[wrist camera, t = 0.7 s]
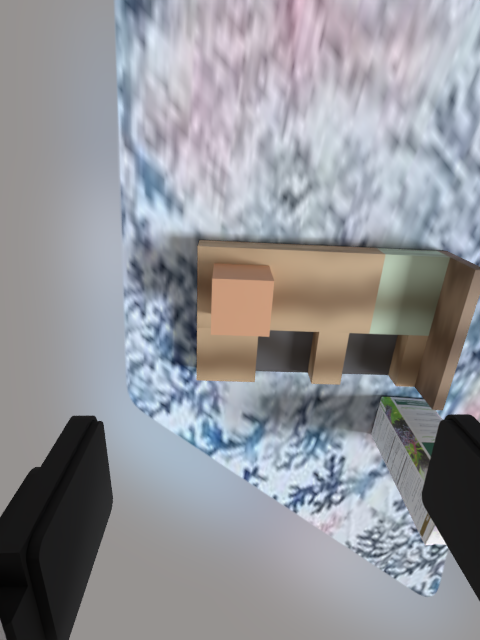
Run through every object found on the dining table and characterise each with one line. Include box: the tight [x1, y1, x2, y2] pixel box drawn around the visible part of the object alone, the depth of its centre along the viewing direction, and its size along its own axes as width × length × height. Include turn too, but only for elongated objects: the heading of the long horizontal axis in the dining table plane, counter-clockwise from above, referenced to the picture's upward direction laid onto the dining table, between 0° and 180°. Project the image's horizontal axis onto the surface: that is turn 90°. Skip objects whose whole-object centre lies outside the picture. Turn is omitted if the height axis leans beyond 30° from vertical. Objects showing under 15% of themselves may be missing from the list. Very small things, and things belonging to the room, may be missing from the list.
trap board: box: [197, 240, 480, 410], centre depth 37 cm, size 14×24×6 cm, turn 87°
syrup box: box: [371, 397, 446, 545], centre depth 39 cm, size 6×6×14 cm
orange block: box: [211, 263, 274, 337], centre depth 34 cm, size 5×5×4 cm
